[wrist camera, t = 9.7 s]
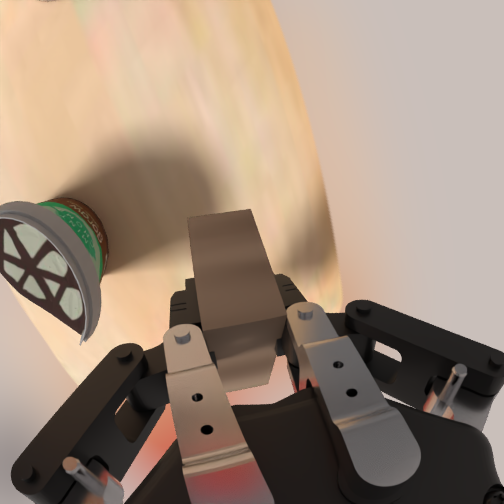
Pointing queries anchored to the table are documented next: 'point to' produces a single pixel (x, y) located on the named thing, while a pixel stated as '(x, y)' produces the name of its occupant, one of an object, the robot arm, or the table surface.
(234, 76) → the table surface
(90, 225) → the food container
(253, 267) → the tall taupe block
